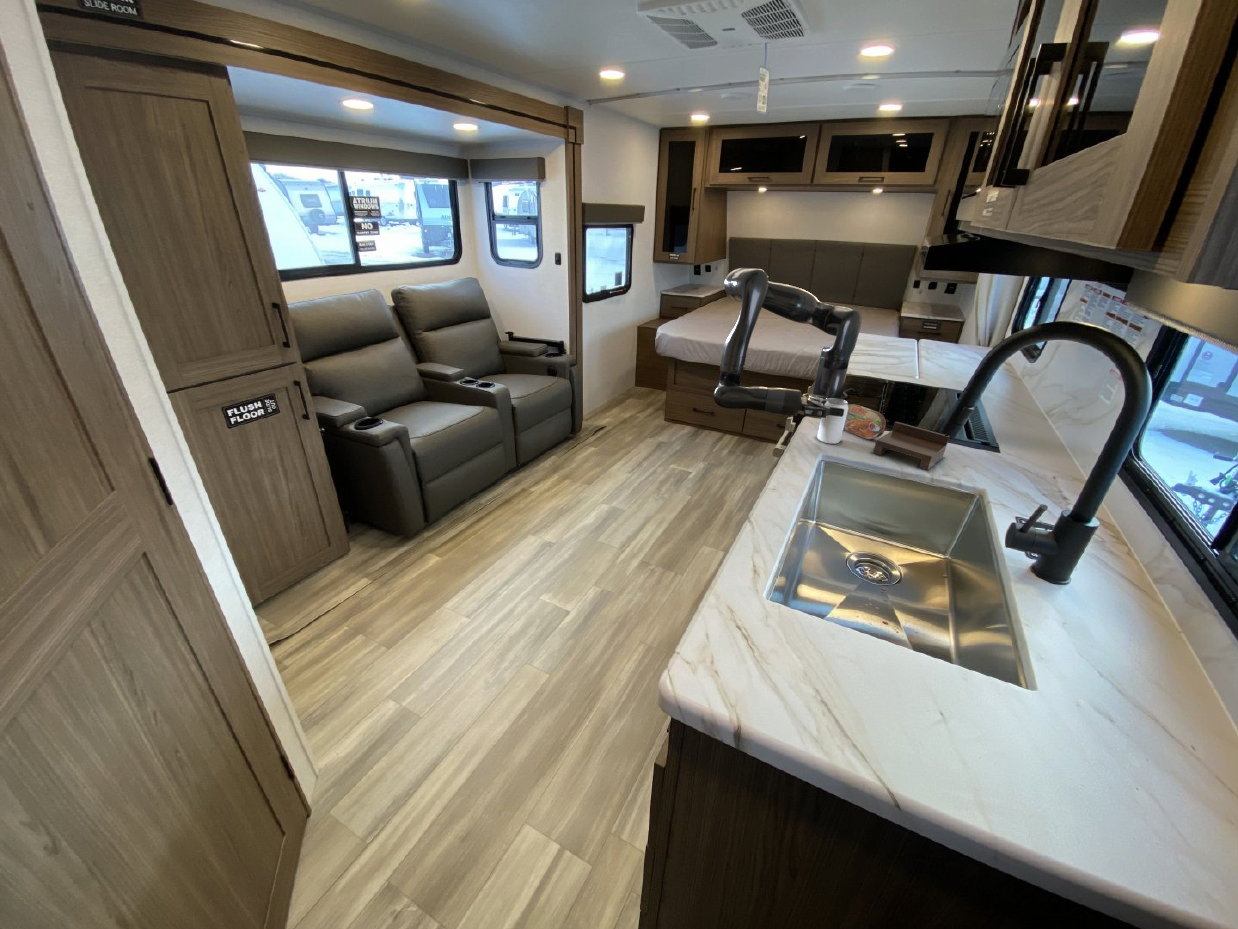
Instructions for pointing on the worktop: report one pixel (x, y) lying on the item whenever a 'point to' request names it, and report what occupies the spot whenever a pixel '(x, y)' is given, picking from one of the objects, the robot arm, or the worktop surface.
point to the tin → (864, 422)
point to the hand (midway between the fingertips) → (842, 408)
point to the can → (833, 423)
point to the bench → (914, 443)
